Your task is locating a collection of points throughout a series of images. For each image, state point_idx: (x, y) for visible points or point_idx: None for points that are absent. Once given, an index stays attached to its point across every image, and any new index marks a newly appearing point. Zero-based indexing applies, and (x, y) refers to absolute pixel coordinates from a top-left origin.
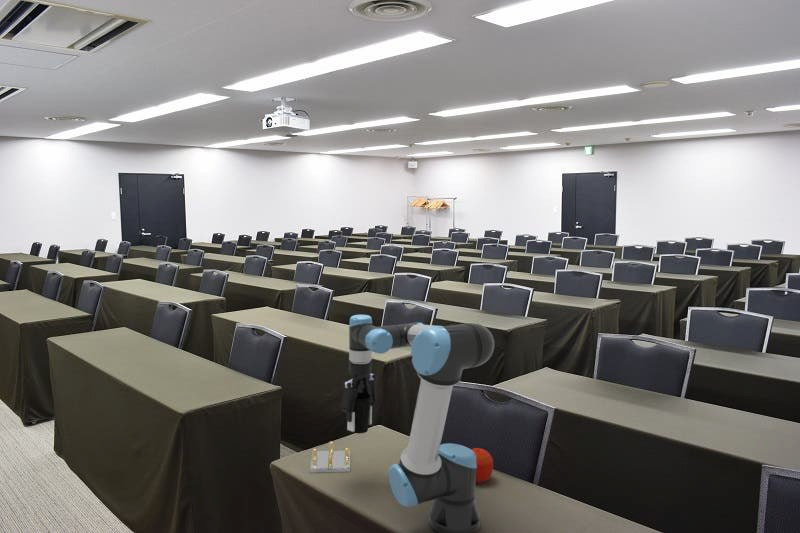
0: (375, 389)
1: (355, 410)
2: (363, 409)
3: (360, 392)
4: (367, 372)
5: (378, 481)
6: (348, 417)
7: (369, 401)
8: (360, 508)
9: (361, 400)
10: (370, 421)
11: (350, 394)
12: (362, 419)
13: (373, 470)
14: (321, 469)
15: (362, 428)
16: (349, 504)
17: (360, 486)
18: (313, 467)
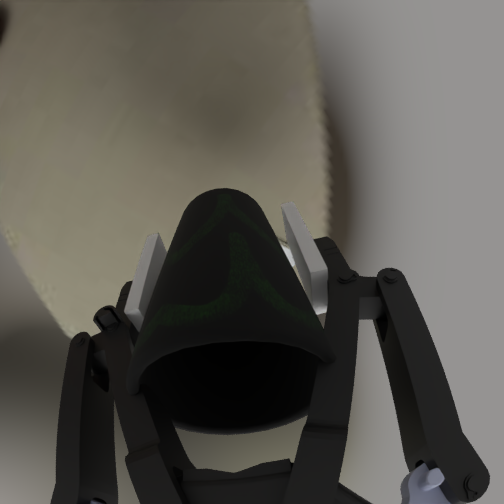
0: (66, 416)
1: (300, 286)
2: (249, 262)
3: (187, 429)
4: None
5: (177, 118)
6: (341, 259)
7: (173, 314)
8: (306, 34)
9: (293, 331)
10: (154, 242)
11: (423, 397)
12: (243, 222)
13: (156, 180)
14: (279, 242)
15: (235, 198)
16: (317, 65)
17: (237, 122)
18: (292, 256)
